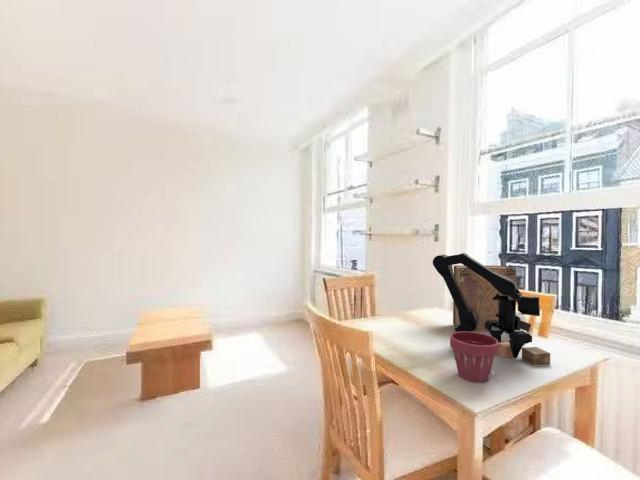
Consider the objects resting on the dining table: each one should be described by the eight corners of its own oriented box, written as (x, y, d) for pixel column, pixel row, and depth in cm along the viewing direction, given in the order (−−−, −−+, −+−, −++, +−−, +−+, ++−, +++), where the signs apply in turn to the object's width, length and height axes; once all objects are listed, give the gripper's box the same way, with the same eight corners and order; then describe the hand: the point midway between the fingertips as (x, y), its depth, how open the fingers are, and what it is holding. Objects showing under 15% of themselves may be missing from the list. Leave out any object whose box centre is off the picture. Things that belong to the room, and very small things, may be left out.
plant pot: (506, 378, 103) (507, 339, 102) (484, 391, 95) (484, 348, 94) (464, 363, 115) (464, 328, 114) (441, 374, 106) (441, 336, 106)
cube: (505, 358, 118) (505, 346, 118) (497, 354, 123) (497, 342, 123) (516, 358, 119) (516, 346, 119) (508, 353, 123) (508, 342, 123)
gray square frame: (533, 368, 110) (533, 366, 110) (517, 358, 118) (517, 357, 118) (555, 366, 111) (555, 365, 111) (537, 357, 119) (537, 356, 119)
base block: (534, 365, 111) (534, 354, 111) (521, 358, 117) (521, 347, 117) (550, 364, 112) (550, 353, 112) (536, 357, 118) (536, 346, 118)
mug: (528, 349, 127) (529, 319, 127) (504, 346, 130) (504, 317, 130) (522, 340, 138) (522, 312, 138) (500, 337, 141) (500, 310, 141)
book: (459, 330, 152) (459, 267, 151) (452, 324, 161) (453, 265, 160) (515, 331, 149) (516, 267, 148) (505, 325, 158) (506, 265, 157)
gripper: (546, 318, 112) (546, 362, 112) (509, 305, 131) (509, 343, 131) (517, 319, 111) (516, 363, 111) (484, 306, 129) (483, 344, 130)
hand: (506, 353), depth 121 cm, fingers open, 9 cm apart
